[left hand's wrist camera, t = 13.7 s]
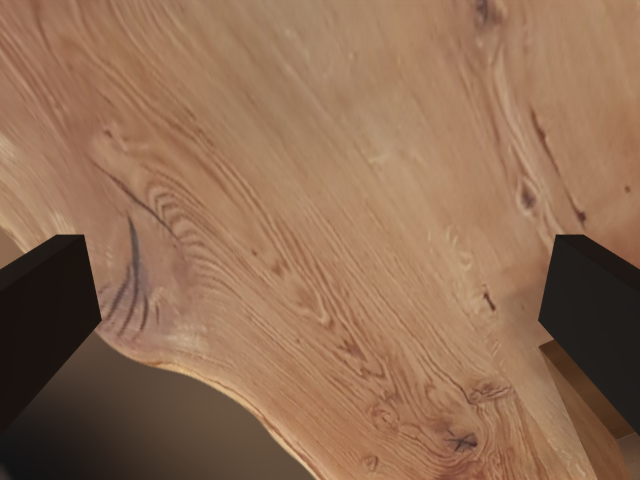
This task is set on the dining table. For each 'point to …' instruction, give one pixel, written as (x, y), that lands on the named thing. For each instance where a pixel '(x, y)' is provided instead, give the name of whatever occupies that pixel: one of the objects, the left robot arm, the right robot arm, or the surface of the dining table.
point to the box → (594, 419)
